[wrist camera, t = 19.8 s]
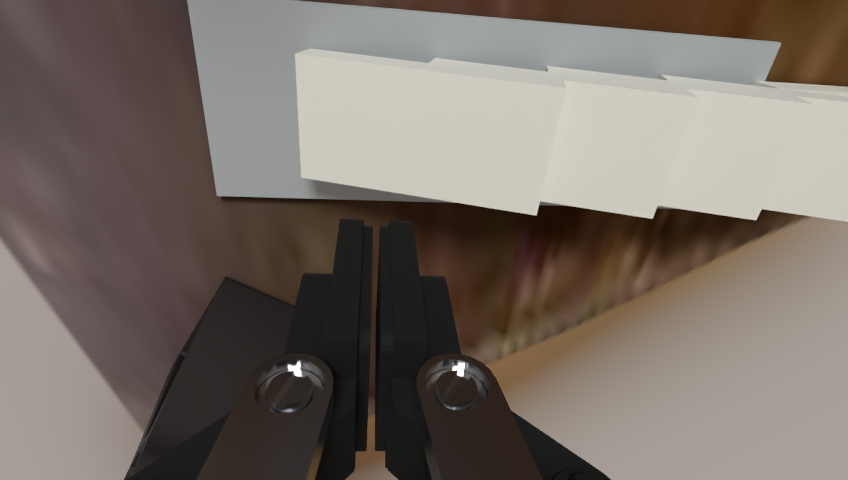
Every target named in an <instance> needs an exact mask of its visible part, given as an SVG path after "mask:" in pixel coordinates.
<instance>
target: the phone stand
mask: <svg viewBox="0 0 848 480" xmlns="http://www.w3.org/2000/svg"><path fill="white" fill-rule="evenodd" d="M294 309H295V306H293V305H290V304H288V303H286V302H283V301H281V300H279V299H276V298H274V297H272V296H270V295H267V294H265V293H263V292H260V291H258V290H256V289H253V288H251V287H249V286H246V285H244V284H242V283H239V282H237V281H235V280H232V279H230V278H228V277H225V278H224V280H223V282H222V283H221V285H220V287H219V288H218V290H217V292H216V293H215V295H214V297H213V298H212V300H211V302H210V303H209V305H208V307H207V308H206V310H205V312H204V313H203V315H202V317H201V318H200V320H199V322H198V324H197V325H196V327H195V329H194V330H193V332H192V334H191V335H190V337H189V339H188V340H187V342H186V344H185V345H184V347H183V349H182V350H181V352H180V354H179V355H178V357H177V359H176V361H175V362H174V364H173V366H172V368H171V370H170V372H169V375H168V377H167V379H166V382H165V384H164V387H163V389H162V391H161V394H160V396H159V399H158V401H157V403H156V406H155V408H154V411H153V413H152V415H151V418H150V420H149V423H148V425H147V428H146V430H145V432H144V435H143V437H142V440H141V442H140V445H139V447H138V449H137V452H136V454H135V456H134V459H133V461H132V464H131V465H130V468H129V470H128V472H127V474H126V476H125V479H124V480H126V479H128V478H129V477H131V476H132V475H134V474H136V473H137V472H139V471H140V470H142V469H143V468H145V467H146V466H148V465H149V464H151V463H153V462H154V461H156V460H157V459H159V458H160V457H162V456H163V455H165V454H166V453H168V452H169V451H171V450H173V449H174V448H176V447H177V446H179V445H180V444H182V443H183V442H185V441H186V440H188V439H189V438H191V437H193V436H194V435H196V434H197V433H199V432H200V431H202V430H203V429H205V428H206V427H208V426H210V425H211V424H213V423H214V422H216V421H217V420H219V419H220V418H222V417H223V416H225V415H226V414H228V413H230V412H231V410H232V408H233V406H234V404H235V402H236V400H237V398H238V396H239V394H240V392H241V391H242V389H243V387H244V385H245V383H246V381H247V379H248V378H249V376H250V375H251V373H252V372H253V371H254V370H255V369H256V368H257V367H258V366H260V365H261V364H262V363H263V362H265V361H267V360H269V359H272V358H274V357H276V356H280V355H284V352H285V348H286V344H287V339H288V335H289V331H290V327H291V322H292V318H293V314H294Z"/></svg>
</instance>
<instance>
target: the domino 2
mask: <svg viewBox="0 0 848 480" xmlns="http://www.w3.org/2000/svg"><path fill="white" fill-rule="evenodd" d="M429 63H432V64H440V65H448V66H456V67H464V68H472V69H480V70H488V71H496V72H504V73H512V74H520V75H528V76H536V77H544V78H552V79H560V80H564V83H565V85H566V92H565V97H564V101H563V105H562V109H561V114H560V118H559V122H558V126H557V131H556V135H555V139H554V144H553V148H552V152H551V156H550V161H549V165H548V169H547V173H546V178H545V182H544V186H543V191H542V195H541V199H540V201H542V202H548V203H554V204H561V205H567V206H573V207H580V208H586V209H592V210H599V211H605V212H611V213H618V214H624V215H631V216H637V217H643V218H650V219H653V217H654V214H655V211H656V209H657V206H658V204H659V201H660V198H661V196H662V193H663V190H664V188H665V185H666V182H667V180H668V177H669V174H670V172H671V169H672V166H673V164H674V161H675V158H676V156H677V153H678V150H679V148H680V145H681V142H682V140H683V137H684V135H685V132H686V129H687V127H688V124H689V121H690V119H691V116H692V113H693V111H694V108H695V105H696V103H697V100H698V96H696V95H695V94H693V93H692V92H690V91H689V90H688V89H684V88H676V87H668V86H660V85H652V84H644V83H636V82H627V81H619V80H611V79H603V78H595V77H587V76H579V75H571V74H563V73H554V72H546V71H538V70H530V69H522V68H514V67H506V66H498V65H490V64H481V63H473V62H465V61H457V60H449V59H441V58H434V59H433V60H432V61H431V62H429Z"/></svg>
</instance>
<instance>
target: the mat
mask: <svg viewBox="0 0 848 480" xmlns="http://www.w3.org/2000/svg"><path fill="white" fill-rule="evenodd" d="M187 2H188V9H189V16H190V22H191V29H192V35H193V42H194V48H195V55H196V62H197V68H198V75H199V81H200V88H201V94H202V101H203V107H204V114H205V121H206V127H207V134H208V140H209V147H210V153H211V160H212V167H213V173H214V180H215V186H216V193H217V196H233V197H269V198H304V199H340V200H376V201H411V202H447V203H455V202H449V201H443V200H437V199H431V198H424V197H418V196H412V195H406V194H400V193H393V192H387V191H381V190H375V189H369V188H362V187H356V186H350V185H344V184H338V183H331V182H325V181H319V180H313V179H307V178H301V165H300V145H299V125H298V106H297V86H296V67H295V53H298V52H301V51H304V50H307V49H310V48H312V49H320V50H328V51H336V52H344V53H352V54H360V55H368V56H376V57H384V58H392V59H400V60H408V61H416V62H424V63H429V62H431V61H432V60H433V59H434V58H441V59H449V60H457V61H465V62H473V63H481V64H490V65H498V66H506V67H514V68H522V69H530V70H538V71H546V67H547V66H553V67H561V68H570V69H578V70H586V71H595V72H603V73H611V74H619V75H628V76H636V77H644V78H653V79H659V76H660V75H668V76H677V77H685V78H694V79H702V80H711V81H719V82H727V83H736V84H744V85H752V83H753V81H765V79H766V77H767V75H768V72H769V70H770V68H771V66H772V63H773V61H774V59H775V57H776V54H777V52H778V50H779V48H780V45H781V43H779V42H773V41H762V40H750V39H739V38H727V37H715V36H704V35H692V34H681V33H669V32H658V31H646V30H634V29H623V28H611V27H600V26H588V25H577V24H565V23H553V22H542V21H530V20H519V19H507V18H495V17H484V16H472V15H461V14H449V13H438V12H426V11H414V10H403V9H391V8H380V7H368V6H357V5H345V4H333V3H322V2H310V1H299V0H187ZM539 205H554V206H567V205H561V204H554V203H548V202H542V201H540V203H539ZM657 208H661V209H677V208H670V207H664V206H657Z"/></svg>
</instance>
